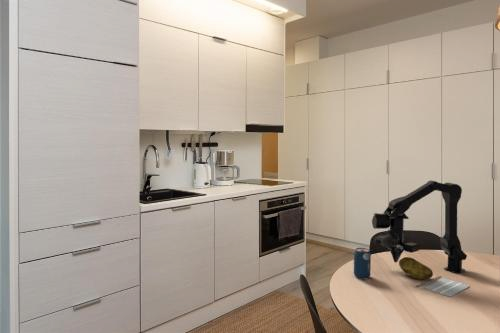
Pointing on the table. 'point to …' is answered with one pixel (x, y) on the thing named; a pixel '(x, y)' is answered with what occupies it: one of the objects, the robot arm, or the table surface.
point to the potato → (415, 268)
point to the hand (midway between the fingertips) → (395, 262)
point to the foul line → (428, 281)
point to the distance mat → (447, 287)
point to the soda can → (362, 263)
